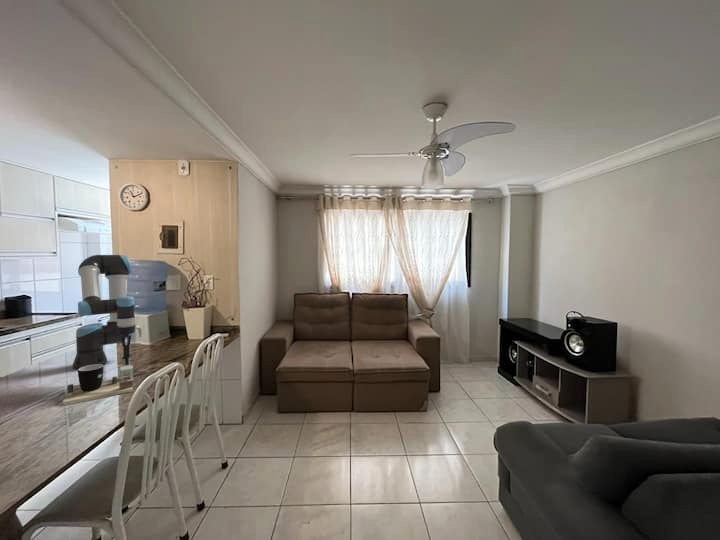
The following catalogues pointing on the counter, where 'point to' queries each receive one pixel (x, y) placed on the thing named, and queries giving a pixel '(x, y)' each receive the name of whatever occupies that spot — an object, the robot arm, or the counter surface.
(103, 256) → the robot arm
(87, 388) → the mug
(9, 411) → the counter surface
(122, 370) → the block
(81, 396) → the board
